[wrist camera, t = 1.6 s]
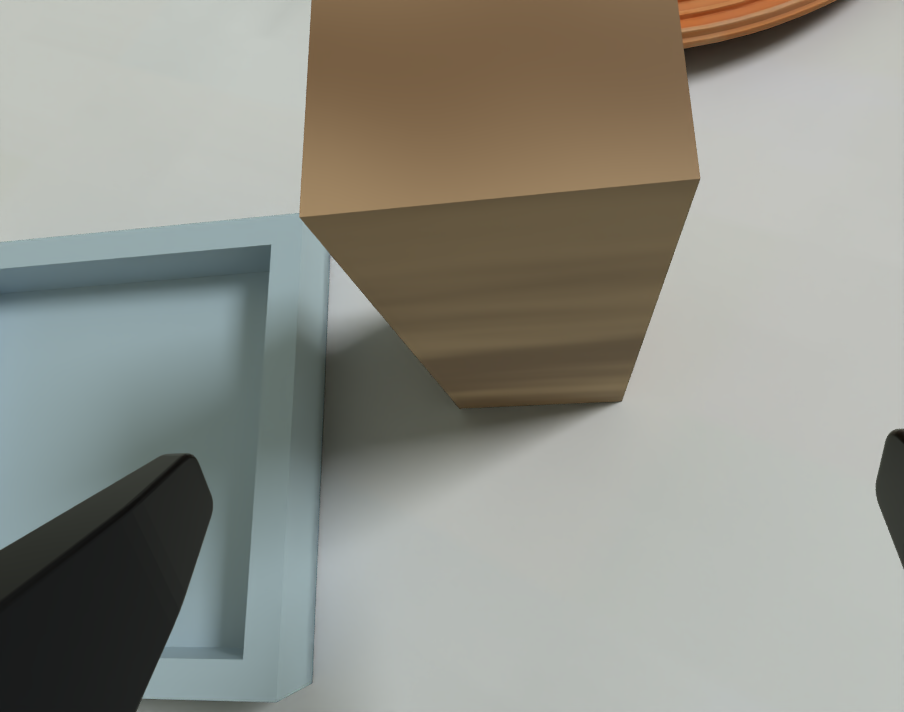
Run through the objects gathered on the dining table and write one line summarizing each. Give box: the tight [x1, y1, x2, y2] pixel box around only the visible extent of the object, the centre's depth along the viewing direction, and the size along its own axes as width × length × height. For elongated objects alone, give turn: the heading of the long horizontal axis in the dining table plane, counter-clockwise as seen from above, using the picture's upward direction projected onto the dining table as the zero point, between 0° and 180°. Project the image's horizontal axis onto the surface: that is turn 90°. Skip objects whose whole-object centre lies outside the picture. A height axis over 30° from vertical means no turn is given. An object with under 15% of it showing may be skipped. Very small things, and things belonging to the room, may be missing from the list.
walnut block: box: [299, 0, 700, 409], centre depth 15 cm, size 4×5×13 cm
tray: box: [0, 213, 330, 702], centre depth 21 cm, size 14×14×2 cm
